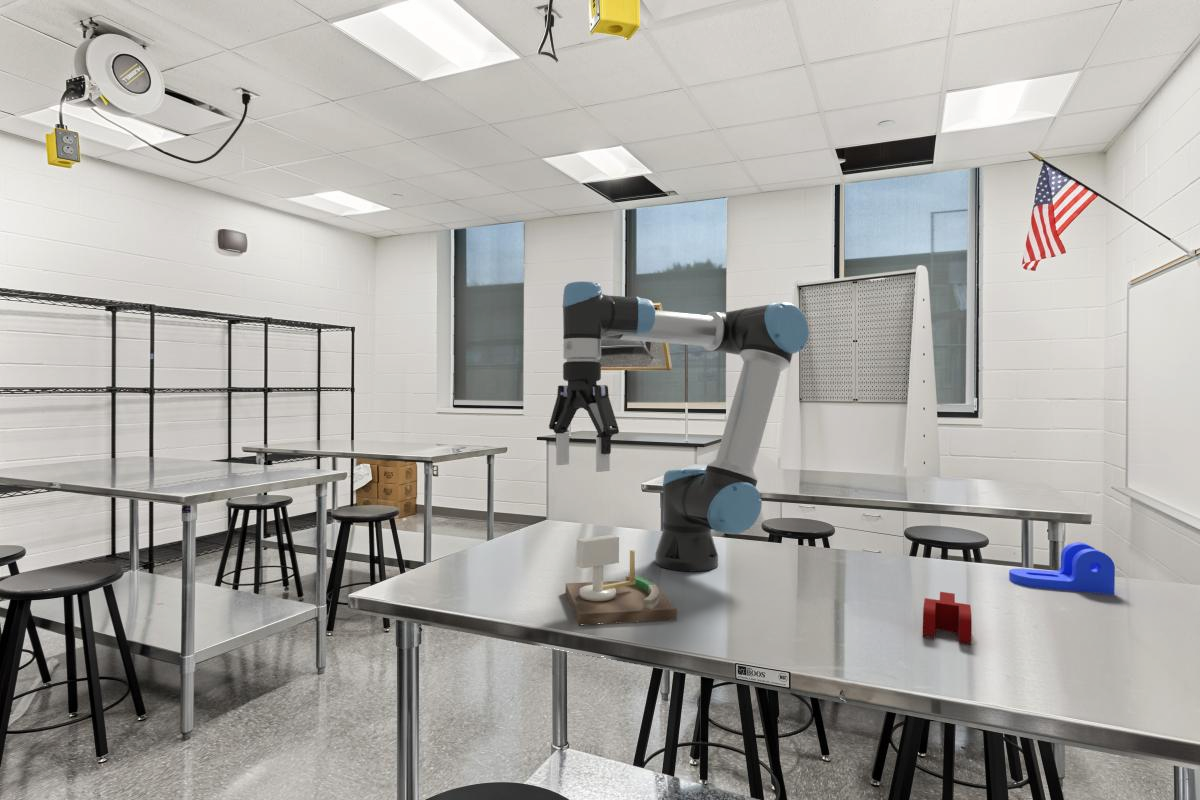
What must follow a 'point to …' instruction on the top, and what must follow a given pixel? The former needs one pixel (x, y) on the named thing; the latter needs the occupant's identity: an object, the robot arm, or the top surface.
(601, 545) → the peg
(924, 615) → the mechanical linkage
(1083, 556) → the bracket
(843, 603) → the top surface
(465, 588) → the top surface
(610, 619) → the wooden base board
